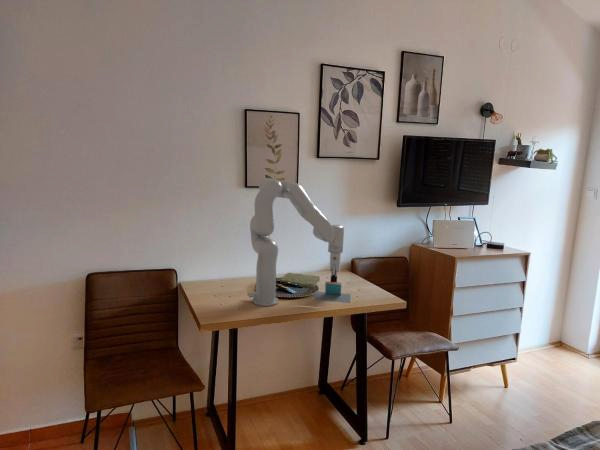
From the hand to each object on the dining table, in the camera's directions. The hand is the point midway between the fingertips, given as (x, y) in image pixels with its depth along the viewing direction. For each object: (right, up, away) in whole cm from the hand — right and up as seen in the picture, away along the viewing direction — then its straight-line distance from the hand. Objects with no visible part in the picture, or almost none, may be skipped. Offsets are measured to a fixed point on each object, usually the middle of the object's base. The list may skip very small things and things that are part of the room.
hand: (333, 283), depth 223 cm
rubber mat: (-1, -7, -3) cm, 8 cm away
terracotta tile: (0, -5, +1) cm, 5 cm away
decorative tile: (-18, -3, +21) cm, 28 cm away
